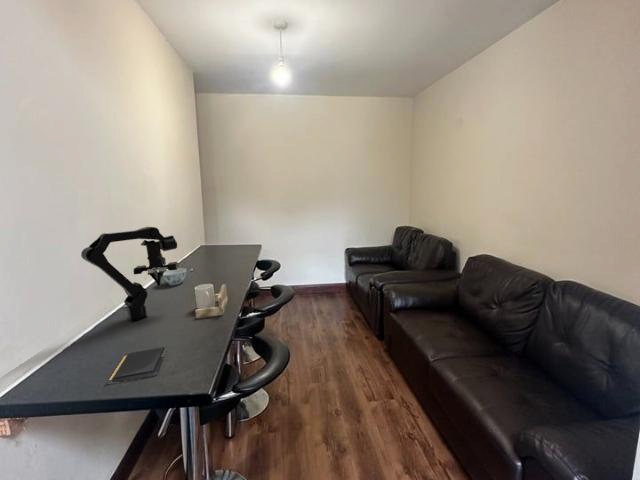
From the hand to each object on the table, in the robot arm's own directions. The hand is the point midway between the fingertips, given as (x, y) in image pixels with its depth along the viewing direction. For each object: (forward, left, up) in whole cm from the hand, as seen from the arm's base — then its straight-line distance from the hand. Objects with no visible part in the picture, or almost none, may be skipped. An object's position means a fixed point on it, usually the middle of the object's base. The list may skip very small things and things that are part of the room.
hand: (159, 285), depth 161 cm
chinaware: (+26, +39, -12) cm, 48 cm away
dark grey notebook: (-30, -45, -13) cm, 56 cm away
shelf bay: (+13, -21, -12) cm, 27 cm away
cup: (+12, -19, -12) cm, 25 cm away
